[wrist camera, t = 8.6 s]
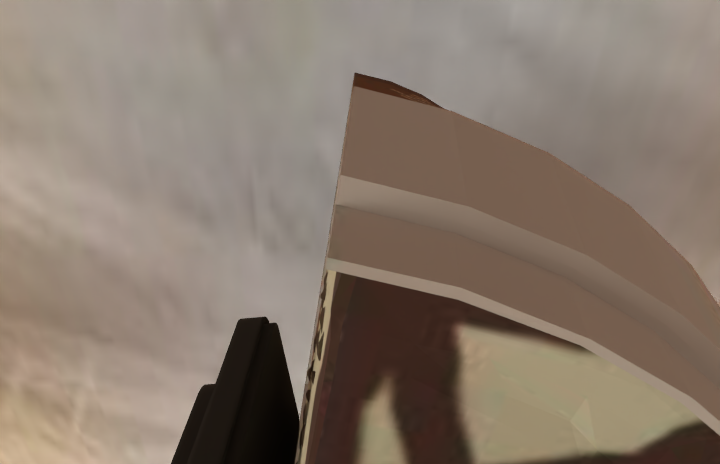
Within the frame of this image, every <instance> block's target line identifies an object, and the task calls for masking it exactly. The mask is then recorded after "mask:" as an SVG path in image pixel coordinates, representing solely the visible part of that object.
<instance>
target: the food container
mask: <svg viewBox="0 0 720 464" xmlns="http://www.w3.org/2000/svg"><path fill="white" fill-rule="evenodd" d="M299 424H300V430H299V439H298V445H297V452H296V459H295V464H720V307H719V305H718V304H717V302H716V301H715V299H714V298H713V296H712V295H711V293H710V292H709V290H708V289H707V287H706V286H705V284H704V283H703V282H702V280H701V279H700V277H699V276H698V274H697V273H696V271H695V270H694V268H693V267H692V265H691V264H690V263H689V262H688V261H687V260H686V259H685V258H684V257H683V256H682V255H681V254H679V253H678V252H677V251H676V250H675V249H674V248H673V247H672V246H671V245H670V244H669V243H668V242H667V241H666V240H665V239H664V238H663V237H662V236H661V235H660V234H659V233H658V232H657V231H656V230H655V229H654V228H653V227H651V226H650V225H649V224H648V223H647V222H646V221H645V220H644V219H643V218H642V217H641V216H640V215H639V214H638V213H637V212H636V211H635V210H634V209H633V208H632V207H631V206H630V205H628V204H626V203H625V202H623V201H622V200H620V199H619V198H617V197H616V196H614V195H613V194H611V193H610V192H608V191H607V190H605V189H604V188H602V187H600V186H599V185H597V184H596V183H594V182H593V181H591V180H590V179H588V178H587V177H585V176H584V175H582V174H581V173H579V172H578V171H576V170H574V169H573V168H571V167H570V166H568V165H567V164H565V163H564V162H562V161H561V160H559V159H558V158H556V157H555V156H553V155H551V154H550V153H548V152H546V151H543V150H541V149H539V148H536V147H534V146H532V145H529V144H527V143H525V142H522V141H520V140H518V139H515V138H513V137H511V136H508V135H506V134H504V133H501V132H499V131H497V130H494V129H492V128H490V127H488V126H485V125H483V124H481V123H478V122H476V121H474V120H471V119H469V118H467V117H464V116H462V115H460V114H457V113H455V112H453V111H449V110H445V109H444V108H442V107H440V106H439V105H437V104H436V103H434V102H432V101H431V100H429V99H428V98H426V97H424V96H423V95H421V94H419V93H417V92H414V91H412V90H409V89H407V88H405V87H402V86H400V85H398V84H395V83H393V82H391V81H387V80H383V79H379V78H375V77H370V76H366V75H362V74H358V73H355V74H354V80H353V87H352V93H351V99H350V106H349V112H348V118H347V124H346V131H345V137H344V143H343V150H342V156H341V162H340V169H339V175H338V181H337V187H336V194H335V200H334V206H333V213H332V219H331V225H330V231H329V238H328V244H327V250H326V257H325V263H324V269H323V275H322V282H321V288H320V294H319V301H318V307H317V313H316V320H315V326H314V332H313V338H312V345H311V351H310V357H309V364H308V370H307V376H306V382H305V389H304V395H303V402H302V408H301V414H300V421H299Z"/></svg>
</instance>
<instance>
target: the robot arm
mask: <svg viewBox="0 0 720 464" xmlns="http://www.w3.org/2000/svg"><path fill="white" fill-rule="evenodd" d="M299 430H300V424H299V415H298V410H297V406H296V402H295V397H294V393H293V389H292V384H291V380H290V376H289V371H288V367H287V363H286V358H285V354H284V350H283V345H282V341H281V337H280V332H279V328H278V325H277V323H269V321H268V319H267V318H266V317H257V318H245V319H240V320H239V321H238V322H237V325H236V328H235V331H234V333H233V336H232V339H231V342H230V345H229V347H228V350H227V353H226V356H225V359H224V361H223V364H222V367H221V370H220V373H219V375H218V378H217V381H216V384H208V385H204V386H203V387H201V389H200V391H199V393H198V395H197V398H196V401H195V403H194V406H193V408H192V411H191V413H190V416H189V419H188V421H187V424H186V426H185V429H184V431H183V434H182V437H181V439H180V442H179V444H178V447H177V449H176V452H175V455H174V457H173V460H172V462H171V464H295V459H296V452H297V445H298V439H299Z"/></svg>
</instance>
